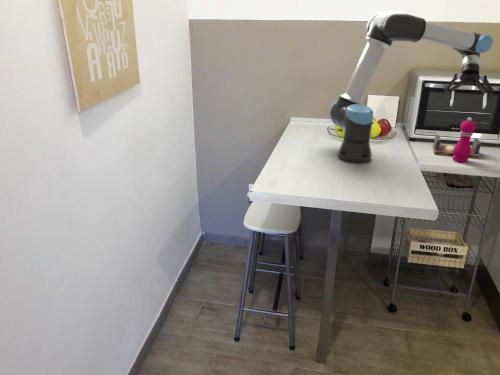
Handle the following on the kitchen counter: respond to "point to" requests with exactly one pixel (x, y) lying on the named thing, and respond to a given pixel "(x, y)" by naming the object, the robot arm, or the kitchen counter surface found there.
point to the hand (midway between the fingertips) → (467, 106)
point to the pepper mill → (464, 141)
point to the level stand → (448, 149)
